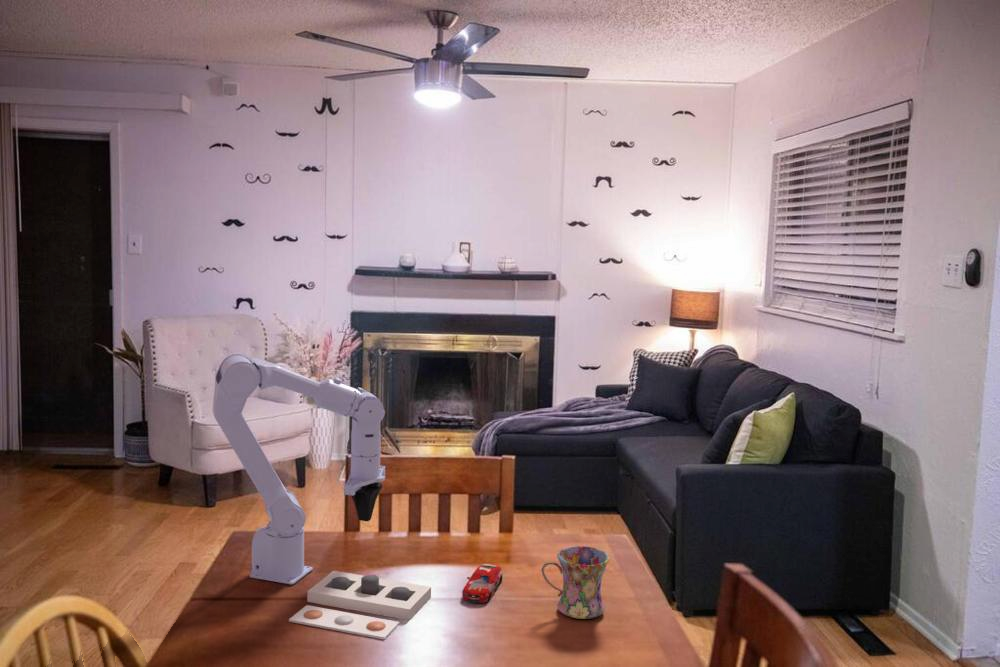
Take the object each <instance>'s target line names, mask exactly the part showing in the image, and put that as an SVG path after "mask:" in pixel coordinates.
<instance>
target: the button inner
mask: <svg viewBox="0 0 1000 667" xmlns="http://www.w3.org/2000/svg"><path fill="white" fill-rule="evenodd" d="M332 588H334V589H340V590H345V591H346V590H347V589H348V588H349V579H348V578H346V577H336V578H333V579H332Z"/></svg>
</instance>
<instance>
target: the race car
mask: <svg viewBox="0 0 1000 667" xmlns="http://www.w3.org/2000/svg"><path fill="white" fill-rule="evenodd" d="M466 579H467V580H468V581H467V583H465V586H464V587H463V589H462V591H461V592H462V593H461V594H462V597H461V598H462V599H463V600H465V601H466V602H471V603H489V602H490V601H491V599H492V597H493V596H494V594H495V593H496V592H497V590H498V589H499V587H500V586H501V584H502V583H503V570H502V566H500V565H497V564H489V563H483V564H481V565H479V566H478V567H477V568H476V569H475V570H474V572H473V573H472V575H471V576H468V577H466Z"/></svg>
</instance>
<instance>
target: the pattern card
mask: <svg viewBox="0 0 1000 667" xmlns="http://www.w3.org/2000/svg"><path fill="white" fill-rule="evenodd" d="M288 622H290V623H294V624H295V623H296V624H300V625H306V626H310V627H316V628H321V629H326V630H331V631H337V632H341V633H347V634H354V635H358V636H363V637H369V638H373V639H378V640H379V639H380V640H384V641H385V640H386V639H387V638H388V637H389V636H390V635H391V634H392V633H393V632H394V631H395V630H396V628H398V626H399V625H400V621H397V620H390V619H385V618H380V617H373V616H367V615H363V614H357V613H352V612H346V611H341V610H336V609H330V608H324V607H319V606H314V605H309V604H307V605H305V606H304V607H303V608H301V609H300V610H299V611H298V612H296V613H295V614H294V615H293V616H292V617H290V618H289V619H288Z"/></svg>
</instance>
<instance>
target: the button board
mask: <svg viewBox="0 0 1000 667" xmlns="http://www.w3.org/2000/svg"><path fill="white" fill-rule="evenodd" d="M363 576H364V575H363V574H362V575H361V574H356V573H351V572H350V573H349V572H344V571H338V570H333V571H331V572H330V573H329V574H327V575H326V576H325V577H324V578H323V579H321V580H320V581H319V582H317V583H315V585H314V586H312V587H311V588H309V589H308V590H307V591H306V592H307V595H306V596H307V599H306V600H307V601H306V602H307V603H312V604H318V605H324V606H327V607H328V606H329V607H335V608H340V609H344V610H350V611H351V610H352V611H356V612H362V613H367V614H372V615H379V616H385V617H390V618H396V619H399V620H407V621H410V620H412V618H414V616H415V615H416V614H417V613H418V612H419V611H420V610H421V608H422V607H424V606H425V604H427V603H428V602H429V600H430V599H431V597H432V586H428V585H427V586H426V585H421V584H416V583H409V582H404V581H403V582H402V581H399V580H398V581H397V580H392V579H387V578H380V577H379V592H378V593H377V594H375V595H368V594H362V593H361V578H362V577H363ZM336 577H346V578H348V579H349V588H348V589H347V590H346V591H345V590H340V589H334V588H332V579H333V578H336ZM395 587H406V588H408V589H409V599H408V600H407V601H402V600H397V599H391V590H392V589H393V588H395Z"/></svg>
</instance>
